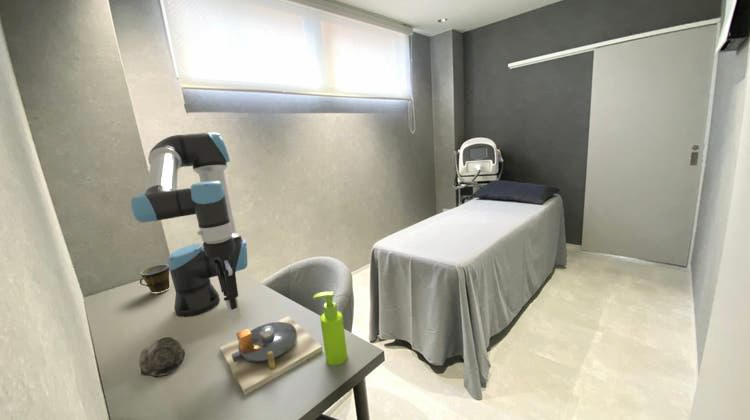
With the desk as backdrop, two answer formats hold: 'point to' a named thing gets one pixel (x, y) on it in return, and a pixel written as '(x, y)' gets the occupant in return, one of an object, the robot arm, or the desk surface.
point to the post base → (262, 369)
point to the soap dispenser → (332, 330)
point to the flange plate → (265, 342)
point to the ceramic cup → (156, 278)
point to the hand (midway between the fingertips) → (235, 317)
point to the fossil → (161, 357)
